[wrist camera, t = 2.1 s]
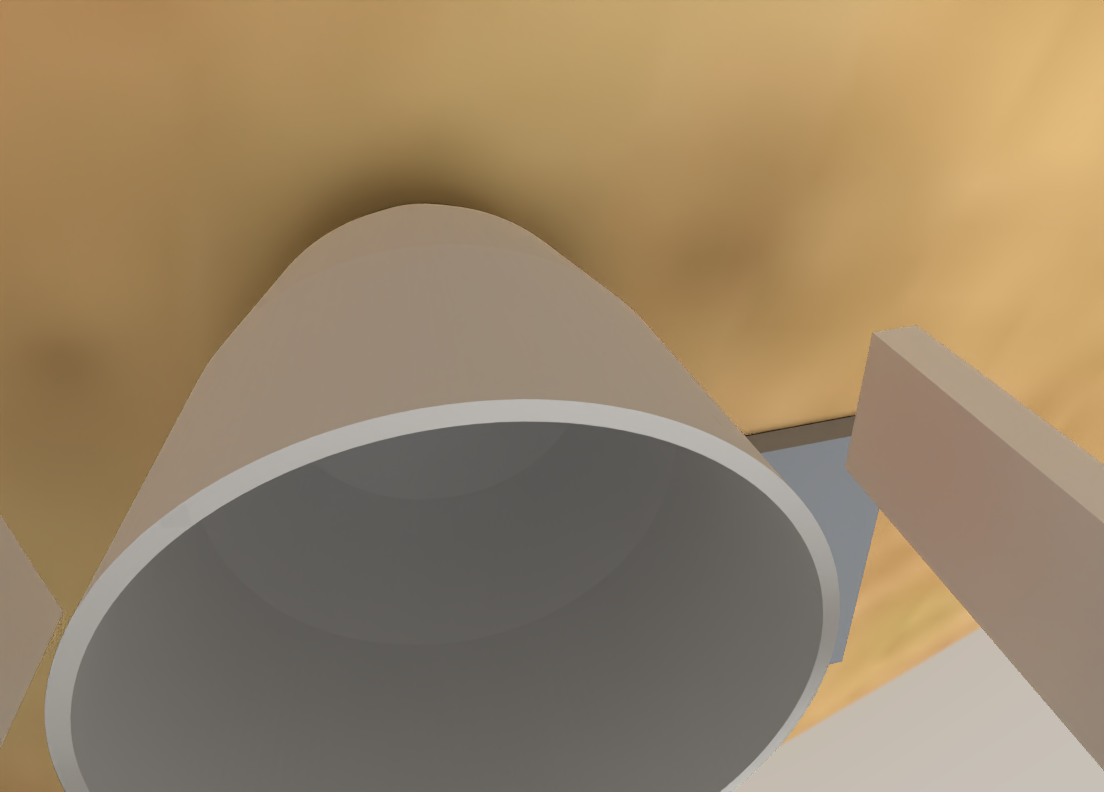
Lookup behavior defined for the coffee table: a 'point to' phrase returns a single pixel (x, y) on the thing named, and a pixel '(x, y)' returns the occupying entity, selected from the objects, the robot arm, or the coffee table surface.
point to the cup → (445, 548)
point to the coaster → (827, 500)
